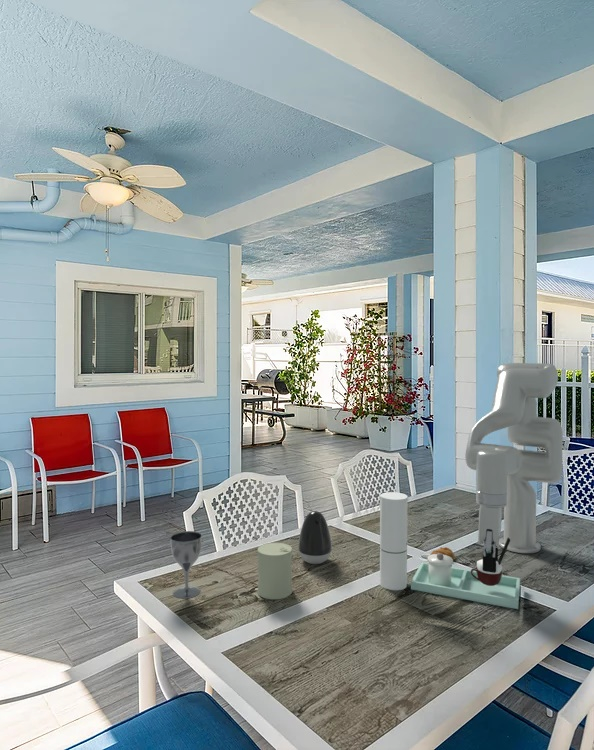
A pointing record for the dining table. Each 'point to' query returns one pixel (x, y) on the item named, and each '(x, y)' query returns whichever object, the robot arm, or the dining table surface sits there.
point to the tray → (470, 587)
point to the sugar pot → (440, 569)
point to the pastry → (444, 552)
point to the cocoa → (490, 577)
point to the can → (274, 570)
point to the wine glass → (186, 558)
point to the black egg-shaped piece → (315, 539)
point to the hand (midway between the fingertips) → (490, 565)
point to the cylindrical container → (393, 540)
